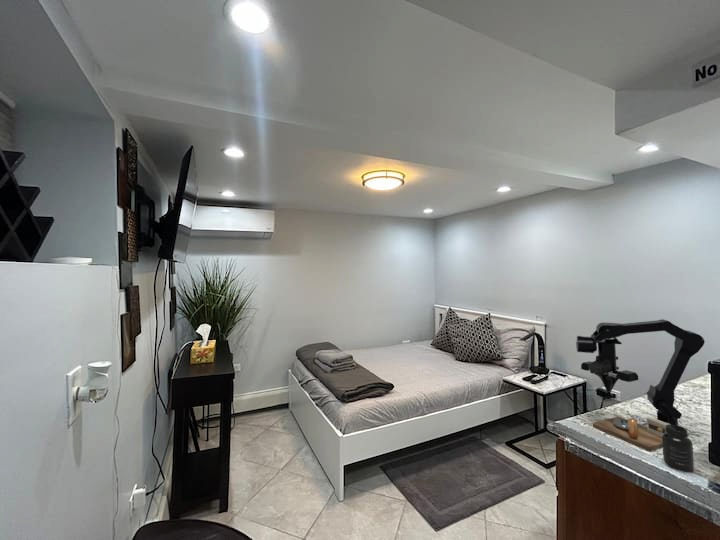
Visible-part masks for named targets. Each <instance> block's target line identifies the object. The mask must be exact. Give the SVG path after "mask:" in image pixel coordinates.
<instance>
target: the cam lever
mask: <svg viewBox="0 0 720 540" xmlns="http://www.w3.org/2000/svg"><path fill="white" fill-rule="evenodd" d="M625 419H626V418H624V419H616V420H614V421H613V422H614V425H615V426H616V427H618V428H621V429H624V430H627V431H628V432H629V436H630V437H632V438H638V430H637V423H638V420H637V419H635V418H631V417H629V418H628V419H627V420H628V421H627V420H625Z"/></svg>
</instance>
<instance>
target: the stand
mask: <svg viewBox="0 0 720 540" xmlns="http://www.w3.org/2000/svg"><path fill="white" fill-rule="evenodd" d="M616 419H625V420H627V421H628V419H627V418H624V417H621V416H618V415H617V416H614V417H610V418H606V419H604V420H600V421H595V422H593V423H592V427H593V428H594V429H596V430H599V431H601V432H604V433H606V434H608V435H611V436H612V437H615V438H617V439H619V440H622V441H623V442H627V443H629V444H632V445H634V446H636V447H638V448H641V449H643V450H644V451H647V452H650V453H651V452H653V451H657V450H660V449H663V443H662V435H663V434H664V433H666V425H669V424H668V423H665V422H663V421H660V420H657V418H653V417H648V418H646V426H645V425H643V424H640V423H638V422H637V430H638V438H632V437H630V436H629V432H628V431H627V430H624V429H621V428H618V427H616V426H615V425H614V422H613V421H614V420H616Z"/></svg>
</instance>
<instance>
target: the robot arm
mask: <svg viewBox="0 0 720 540" xmlns="http://www.w3.org/2000/svg"><path fill="white" fill-rule="evenodd" d="M654 332H666V333H667V334H669V335H670V336H672V337H675V340H674V352H673V354H672V355H671V358H670V360H669V362H668V365H667V366H666V368H665V371H664V372H663V375H662V377H661V379H660V381H659V383H658V384H657V385H653V384H650V385H649V388H648V390H647V392H645V394H646V395H647V400H648V402H649V403H650V404H651V406H653V408H655V410H656V419H657V420H660V421H663V422H665V423H668V424H671V425H677V426H679V420H681V417H682V415H683V414H682V413H681V412H680V410H679V409H677V408H676V407H675V406H674V403H675V391H676V388H677V386H678V384H679V383H680V380H681V378H682V376H683V374H684V372H685V370H686V368H687V366H688V363H689V361H690V360H691V359H692V358H691V357H693V356H694V355H696V354H697V353H699V352H700V350H701V349H703V347H704V345H705V339H704V337H703V336H702V335H700V334H698V333H696V332H693V331H692V330H691V331H690V330H687V329H686V330H685V329H683V328H681V327H679V326H678V325H676V324H674V323H673V322H671V321H669V320H666V319H658V320H649V321H648V320H647V321H640V322H627V323H618V322H600V323H598V324H597V325H596V328H595V331H593V333H592V334H591V335H590V336H582V335H576V342H575V347H576V352H577V353H585V354H587V353H588V354H594V353H596V352H597V353H598V354H597V355H596V356H595V360H594V361H585V362H581V364H580V369H581V370H583V371H587V372H588V371H589V372H590V374H592V375H593V374H594V375H595V376H597V377H598V378H599V379H601V382H602V383H603V386H604V388H605V390H606V392H607V393H611V392H612V391H613V388H614V387H615V385H616V383H617V382H618V380H620V381H623V382H626V383H627V382H628V383H631V382H636V381H639V375H638V374H637V372H634V371H629V370H621V371H619V369H620V367H619V366H617V360H619V357H618V356H617V353H616V345H623V344H622V342H621V341H620V340H619V339H618V338H619V337H621V336H625V335H630V334H632V335H633V334H640V333H654Z"/></svg>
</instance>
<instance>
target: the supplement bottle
mask: <svg viewBox="0 0 720 540" xmlns="http://www.w3.org/2000/svg"><path fill="white" fill-rule="evenodd" d="M688 434H689V433H688V430H687V428H685V427H683V426H682V425H681V426H680V425H678V426H677V425H671V424H669V425H666V433H664V434H663V435H662V443H663V447H662V453H663V454H662V456H663V457H662V458H663V462H664V463H665V464H666V466H668V467H670V468H671V469H674V470H677V471H680V472H687V473H690V472H693V471H694V469H695V467H694V466H695V463H694V462H695V461H694V447H693V446H694V445H693V441H692V440H691V439H690V438H689V435H688Z"/></svg>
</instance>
